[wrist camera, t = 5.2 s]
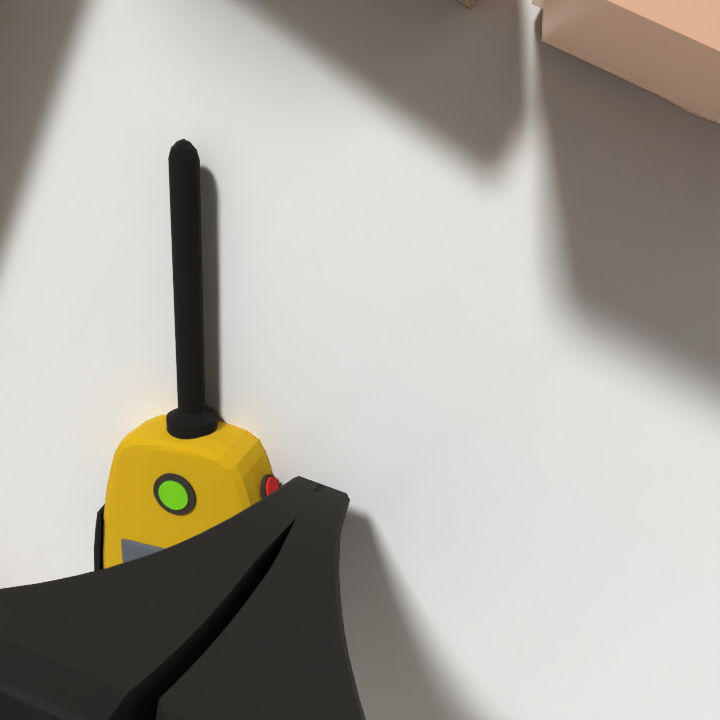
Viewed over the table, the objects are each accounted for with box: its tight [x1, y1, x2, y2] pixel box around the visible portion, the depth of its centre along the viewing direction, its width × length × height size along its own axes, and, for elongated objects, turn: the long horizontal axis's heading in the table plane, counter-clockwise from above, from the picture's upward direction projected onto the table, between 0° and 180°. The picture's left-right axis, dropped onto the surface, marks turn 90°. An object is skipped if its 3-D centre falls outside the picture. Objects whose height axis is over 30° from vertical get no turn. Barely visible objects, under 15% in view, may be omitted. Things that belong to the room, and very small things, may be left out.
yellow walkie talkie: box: [94, 139, 279, 571], centre depth 14 cm, size 5×2×15 cm
